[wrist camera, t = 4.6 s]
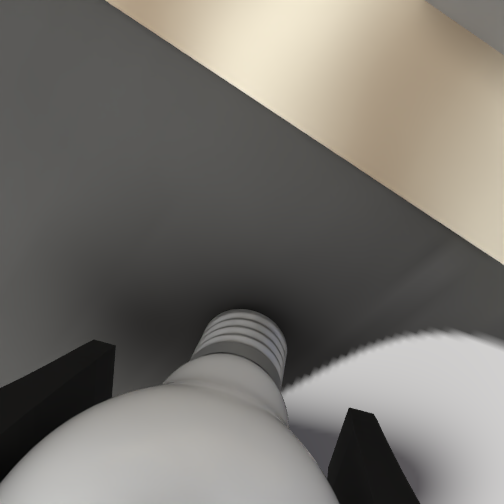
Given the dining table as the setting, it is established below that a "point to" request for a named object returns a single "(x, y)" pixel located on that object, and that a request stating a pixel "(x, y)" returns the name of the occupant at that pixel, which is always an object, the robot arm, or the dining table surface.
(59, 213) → the dining table surface
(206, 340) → the lightbulb
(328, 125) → the rail board
